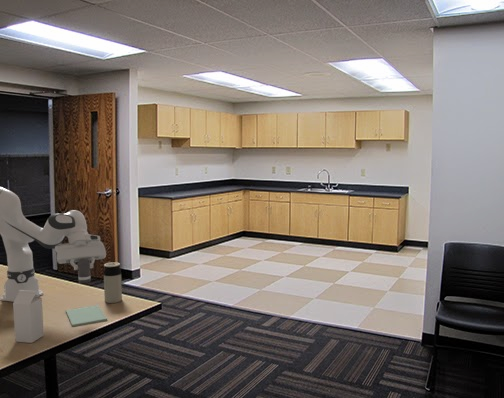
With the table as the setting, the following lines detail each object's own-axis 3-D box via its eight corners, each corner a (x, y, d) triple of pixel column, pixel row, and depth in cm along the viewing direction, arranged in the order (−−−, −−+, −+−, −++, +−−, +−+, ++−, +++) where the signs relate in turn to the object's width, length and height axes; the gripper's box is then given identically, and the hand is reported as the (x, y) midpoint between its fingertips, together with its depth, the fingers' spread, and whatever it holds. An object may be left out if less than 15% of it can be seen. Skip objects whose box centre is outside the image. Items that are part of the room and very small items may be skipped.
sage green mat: (65, 311, 206) (65, 310, 205) (98, 306, 212) (98, 304, 212) (72, 326, 188) (72, 324, 188) (107, 320, 195) (107, 318, 195)
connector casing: (77, 281, 199) (76, 257, 198) (89, 279, 202) (88, 256, 200) (79, 284, 195) (78, 260, 194) (91, 282, 197) (90, 258, 196)
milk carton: (32, 343, 172) (29, 294, 170) (15, 342, 173) (12, 293, 171) (44, 335, 179) (41, 288, 177) (27, 334, 180) (24, 287, 178)
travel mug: (104, 304, 216) (102, 266, 214) (105, 299, 223) (103, 262, 221) (122, 302, 218) (120, 265, 216) (122, 297, 225) (120, 261, 223)
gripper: (54, 240, 198) (58, 267, 190) (103, 235, 208) (108, 261, 200) (54, 248, 202) (57, 275, 195) (101, 243, 212) (107, 269, 204)
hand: (84, 268), depth 197 cm, fingers closed on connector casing, 5 cm apart
